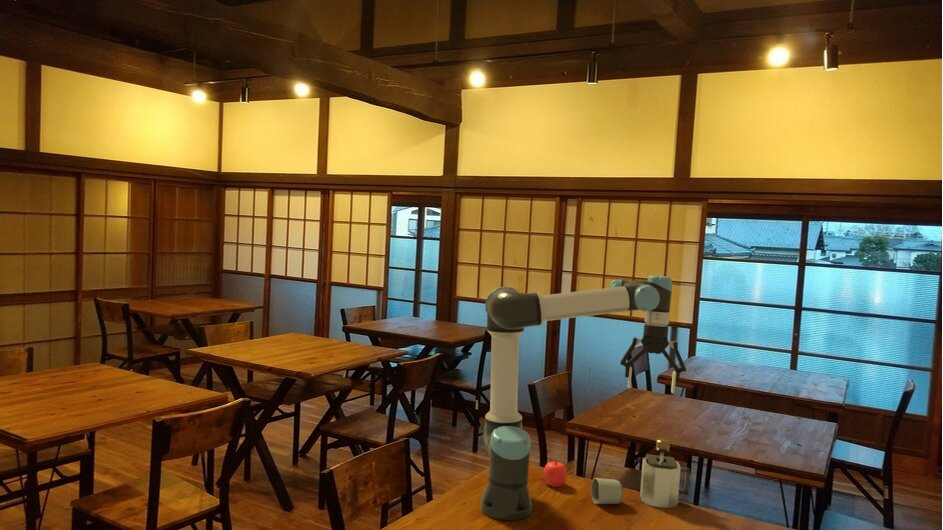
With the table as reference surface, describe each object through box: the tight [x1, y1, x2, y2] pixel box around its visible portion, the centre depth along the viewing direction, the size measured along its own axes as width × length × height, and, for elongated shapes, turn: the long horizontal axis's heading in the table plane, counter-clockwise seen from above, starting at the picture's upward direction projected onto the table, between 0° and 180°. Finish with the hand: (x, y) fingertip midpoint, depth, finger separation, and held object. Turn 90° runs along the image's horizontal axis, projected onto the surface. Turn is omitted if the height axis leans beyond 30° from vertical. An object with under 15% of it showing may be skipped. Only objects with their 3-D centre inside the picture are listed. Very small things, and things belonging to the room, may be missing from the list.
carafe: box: [639, 454, 691, 510], centre depth 208 cm, size 14×11×13 cm
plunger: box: [655, 438, 671, 468], centre depth 208 cm, size 8×8×18 cm
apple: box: [543, 460, 568, 488], centre depth 218 cm, size 8×8×8 cm
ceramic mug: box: [590, 477, 624, 505], centre depth 207 cm, size 11×8×8 cm
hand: (650, 390), depth 212 cm, fingers open, 13 cm apart
